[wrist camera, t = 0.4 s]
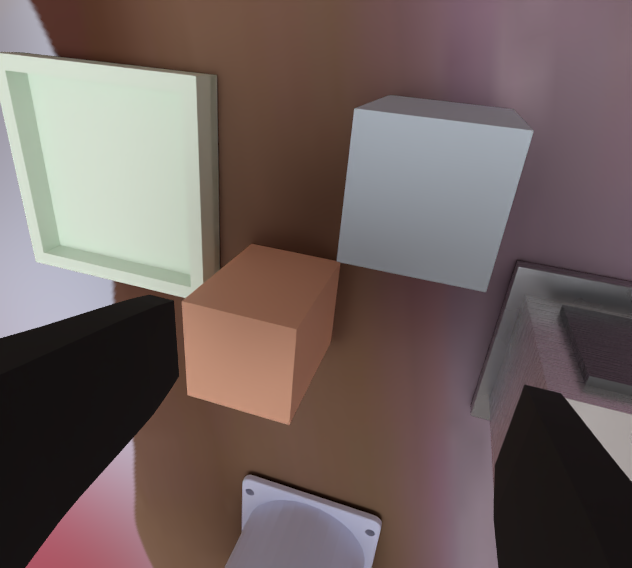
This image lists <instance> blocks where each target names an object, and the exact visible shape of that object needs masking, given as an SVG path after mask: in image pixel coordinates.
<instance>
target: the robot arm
mask: <svg viewBox="0 0 632 568" xmlns="http://www.w3.org/2000/svg"><path fill="white" fill-rule="evenodd" d="M178 377H179V369H178V354H177V340H176V326H175V311H174V301H173V300H169V299H165V298H161V297H156V296H152V295H146V296H142V297H137V298H133V299H129V300H126V301H122V302H119V303H115V304H112V305H109V306H105V307H102V308H99V309H96V310H93V311H90V312H86V313H83V314H80V315H77V316H74V317H70V318H67V319H64V320H61V321H58V322H55V323H51V324H48V325H45V326H42V327H39V328H35V329H31V330H28V331H25V332H21V333H17V334H14V335H10V336H7V337H3V338H0V568H25V567H26V566H27V565H28V563H29V562H30V560H31V559H32V558H33V556H34V555H35V553H36V552H37V551H38V550H39V548H40V547H41V546H42V544H43V543H44V542H45V540H46V539H47V538H48V536H49V535H50V534H51V532H52V531H53V530H54V528H55V527H56V526H57V524H58V523H59V522H60V520H61V519H62V518H63V517H64V515H65V514H66V513H67V512H68V511H69V509H70V508H71V507H72V506H73V505H74V503H75V502H76V501H77V500H78V498H79V497H80V496H81V495H82V494H83V493H84V492H85V491H86V489H87V488H88V487H89V486H90V485H91V484H92V483H93V482H94V481H95V480H96V478H97V477H98V476H99V475H100V474H101V473H102V472H103V471H104V469H105V468H106V467H107V466H108V465H109V464H110V463H111V462H112V461H113V459H114V458H115V457H116V456H117V455H118V454H119V453H120V452H121V451H122V449H123V448H124V447H125V446H126V445H127V444H128V443H129V442H130V440H131V439H132V438H133V437H134V436H135V435H136V434H137V432H138V431H139V430H140V429H141V428H142V427H143V426H144V425H145V423H146V422H147V421H148V420H149V419H150V418H151V416H152V415H153V414H154V413H155V411H156V410H157V408H158V407H159V406H160V404H161V403H162V401H163V400H164V398H165V397H166V395H167V394H168V392H169V391H170V389H171V388H172V386H173V385H174V383H175V382H176V380H177V378H178ZM381 525H382V522H381V520H380V519H379V518H378V517H377V516H375V515H372V514H369V513H366V512H363V511H360V510H357V509H354V508H351V507H348V506H345V505H342V504H339V503H336V502H333V501H330V500H327V499H324V498H321V497H318V496H315V495H312V494H309V493H306V492H303V491H299V490H296V489H293V488H290V487H287V486H284V485H281V484H278V483H275V482H272V481H269V480H266V479H263V478H260V477H257V476H254V475H247V476H245V478H244V480H243V482H242V533H241V535H240V537H239V539H238V541H237V543H236V545H235V547H234V549H233V551H232V553H231V555H230V557H229V559H228V561H227V563H226V565H225V568H372V564H373V559H374V555H375V551H376V547H377V543H378V538H379V534H380V530H381ZM494 527H495V537H496V548H497V558H498V568H632V481H631V480H630V479H629V478H628V476H627V475H626V474H625V473H624V472H623V470H622V469H621V468H620V467H619V465H618V464H617V463H616V462H615V460H614V459H613V458H612V457H611V456H610V454H609V453H608V452H607V451H606V449H605V448H604V447H603V445H602V444H601V443H600V442H599V440H598V439H597V438H596V437H595V435H594V434H593V433H592V431H591V430H590V429H589V428H588V426H587V425H586V424H585V423H584V421H583V420H582V419H581V417H580V416H579V415H578V414H577V412H576V411H575V410H574V409H573V407H572V406H571V405H570V404H569V402H568V401H567V400H566V399H565V397H564V396H563V395H562V394H561V393H558V392H554V391H550V390H546V389H541V388H537V387H533V386H529V385H525V384H524V387H523V390H522V392H521V395H520V398H519V401H518V403H517V406H516V409H515V411H514V414H513V417H512V420H511V422H510V425H509V428H508V430H507V433H506V436H505V439H504V441H503V444H502V447H501V449H500V452H499V455H498V458H497V460H496V463H495V475H494Z"/></svg>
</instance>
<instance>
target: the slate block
mask: <svg viewBox="0 0 632 568" xmlns="http://www.w3.org/2000/svg"><path fill="white" fill-rule="evenodd" d="M533 132H534V130H533V129H532V128H531V127H530V126H529V125H528V124H527V123H526V122H525V121H524V120H523V119H522V118H521V117H520V116H519V115H518V114H517V113H516V112H515V110H514V109H508V108H500V107H491V106H482V105H473V104H465V103H456V102H447V101H439V100H430V99H421V98H413V97H404V96H395V95H388V96H386V97H383V98H380V99H378V100H375V101H373V102H370V103H367V104H365V105H362V106H359V107H357V108H354V116H353V125H352V133H351V142H350V151H349V159H348V168H347V176H346V185H345V193H344V202H343V211H342V219H341V228H340V236H339V245H338V253H337V262H340V263H345V264H350V265H355V266H360V267H365V268H370V269H375V270H379V271H384V272H389V273H394V274H399V275H404V276H409V277H414V278H418V279H423V280H428V281H433V282H438V283H443V284H448V285H453V286H458V287H462V288H467V289H472V290H477V291H482V292H486V291H487V287H488V284H489V281H490V277H491V274H492V270H493V267H494V264H495V260H496V257H497V253H498V250H499V247H500V243H501V240H502V237H503V233H504V230H505V226H506V223H507V220H508V216H509V213H510V209H511V206H512V203H513V199H514V196H515V192H516V189H517V186H518V182H519V179H520V176H521V172H522V169H523V165H524V162H525V159H526V155H527V152H528V148H529V145H530V142H531V138H532V135H533Z"/></svg>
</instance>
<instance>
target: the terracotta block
mask: <svg viewBox="0 0 632 568" xmlns="http://www.w3.org/2000/svg"><path fill="white" fill-rule="evenodd" d="M339 272H340V262H337V261H334V260H329V259H324V258H319V257H314V256H309V255H305V254H300V253H295V252H290V251H285V250H280V249H275V248H270V247H265V246H261V245H256V244H250V245H249V246H248V247H247V248H246V249H244V250H243V251H242V252H241V253H239V254H238V255H237V256H236V257H235V258H233V259H232V260H231V261H230V262H229V263H227V264H226V265H225V266H224V267H223V268H221V269H220V270H219V271H218V272H216V273H215V274H214V275H213V276H212V277H210V278H209V279H208V280H207V281H206V282H204V283H203V284H202V285H201V286H200V287H198V288H197V289H196V290H195V291H193V292H192V293H191V294H190V295H189V296H187V297H186V298H185V299H184V300H183V301H182V314H183V330H184V346H185V362H186V378H187V394H188V395H189V396H193V397H196V398H200V399H203V400H206V401H210V402H213V403H216V404H220V405H223V406H226V407H230V408H233V409H237V410H240V411H243V412H247V413H250V414H253V415H257V416H260V417H264V418H267V419H270V420H274V421H277V422H280V423H284V424H287V425H290V423H291V421H292V419H293V417H294V415H295V413H296V411H297V409H298V407H299V405H300V403H301V401H302V399H303V397H304V395H305V393H306V391H307V389H308V387H309V385H310V383H311V381H312V379H313V377H314V375H315V373H316V371H317V369H318V367H319V365H320V363H321V361H322V359H323V357H324V355H325V353H326V351H327V349H328V347H329V345H330V343H331V338H332V329H333V321H334V313H335V305H336V296H337V288H338V280H339Z"/></svg>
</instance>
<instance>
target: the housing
mask: <svg viewBox="0 0 632 568" xmlns="http://www.w3.org/2000/svg"><path fill="white" fill-rule="evenodd" d="M524 384H525V385H529V386H533V387H537V388H541V389H546V390H550V391H554V392H558V393H561V394H562V395H563V396H564V397H565V399H566V400H567V401H568V402H569V404H570V405H571V406H572V407H573V409H574V410H575V411H576V412H577V414H578V415H579V416H580V417H581V419H582V420H583V421H584V423H585V424H586V425H587V426H588V428H589V429H590V430H591V431H592V433H593V434H594V435H595V437H596V438H597V439H598V440H599V442H600V443H601V444H602V445H603V447H604V448H605V449H606V451H607V452H608V453H609V454H610V456H611V457H612V458H613V459H614V460H615V462H616V463H617V464H618V465H619V467H620V468H621V469H622V470H623V472H624V473H625V474H626V475H627V476H628V478H629V479H630V480H631V481H632V282H631V281H626V280H620V279H615V278H610V277H604V276H599V275H594V274H588V273H583V272H578V271H572V270H567V269H561V268H556V267H551V266H545V265H540V264H535V263H529V262H524V261H519V260H517V263H516V266H515V269H514V272H513V275H512V278H511V281H510V284H509V288H508V291H507V294H506V297H505V300H504V303H503V306H502V309H501V313H500V316H499V319H498V322H497V325H496V328H495V331H494V334H493V338H492V341H491V344H490V347H489V350H488V353H487V356H486V359H485V363H484V366H483V369H482V372H481V375H480V378H479V381H478V384H477V388H476V391H475V394H474V397H473V400H472V403H471V416H474V417H478V418H482V419H486V420H490V428H491V446H492V464H493V482H494V475H495V463H496V460H497V458H498V455H499V452H500V449H501V447H502V444H503V441H504V439H505V436H506V433H507V430H508V428H509V425H510V422H511V420H512V417H513V414H514V411H515V409H516V406H517V403H518V401H519V398H520V395H521V392H522V390H523V387H524Z"/></svg>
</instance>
